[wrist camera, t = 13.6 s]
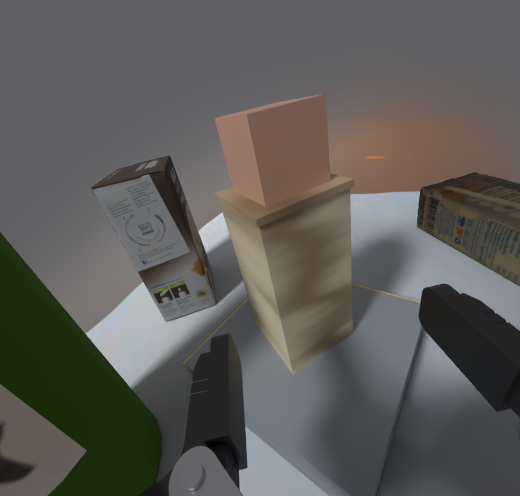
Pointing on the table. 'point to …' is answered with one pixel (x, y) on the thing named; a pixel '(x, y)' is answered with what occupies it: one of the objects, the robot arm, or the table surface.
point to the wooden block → (296, 267)
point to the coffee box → (159, 235)
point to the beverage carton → (476, 220)
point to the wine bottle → (64, 401)
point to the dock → (330, 391)
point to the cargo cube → (277, 149)
